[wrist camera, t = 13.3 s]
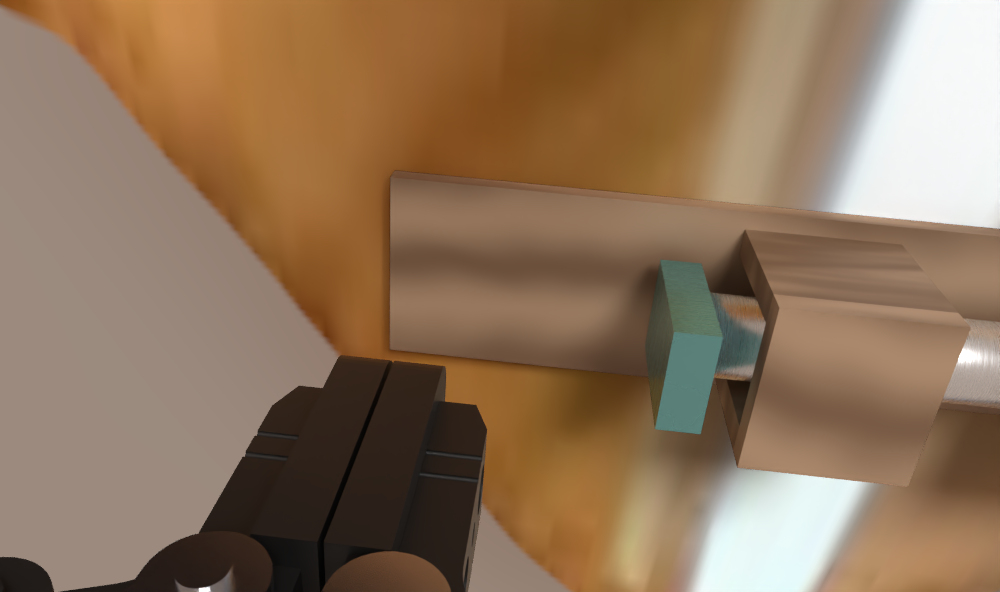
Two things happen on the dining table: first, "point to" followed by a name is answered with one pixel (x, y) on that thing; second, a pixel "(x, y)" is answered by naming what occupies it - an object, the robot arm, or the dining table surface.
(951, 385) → the slip tube
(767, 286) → the rail board
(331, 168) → the dining table surface
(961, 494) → the dining table surface
